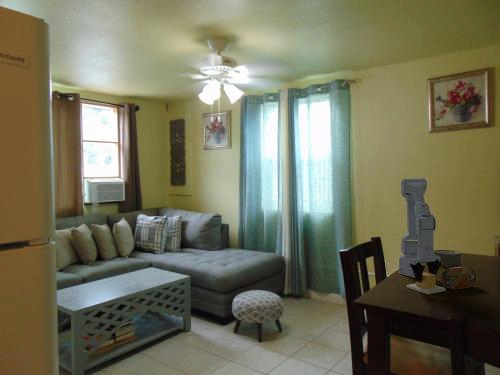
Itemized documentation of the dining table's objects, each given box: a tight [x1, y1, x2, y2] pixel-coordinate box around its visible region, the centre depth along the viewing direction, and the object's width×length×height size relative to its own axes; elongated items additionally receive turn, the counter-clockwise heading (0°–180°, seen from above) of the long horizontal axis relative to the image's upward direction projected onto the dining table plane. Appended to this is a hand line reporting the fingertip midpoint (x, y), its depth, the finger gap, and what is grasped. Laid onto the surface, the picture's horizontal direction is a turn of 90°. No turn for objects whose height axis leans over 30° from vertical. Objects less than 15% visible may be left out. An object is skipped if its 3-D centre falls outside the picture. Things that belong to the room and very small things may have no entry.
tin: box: [441, 265, 477, 291], centre depth 146 cm, size 15×3×8 cm, turn 105°
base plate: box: [406, 282, 447, 295], centre depth 145 cm, size 10×10×5 cm
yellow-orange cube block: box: [415, 271, 437, 289], centre depth 145 cm, size 5×5×5 cm
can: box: [434, 249, 462, 269], centre depth 183 cm, size 12×12×7 cm
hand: (425, 280), depth 145 cm, fingers open, 7 cm apart
